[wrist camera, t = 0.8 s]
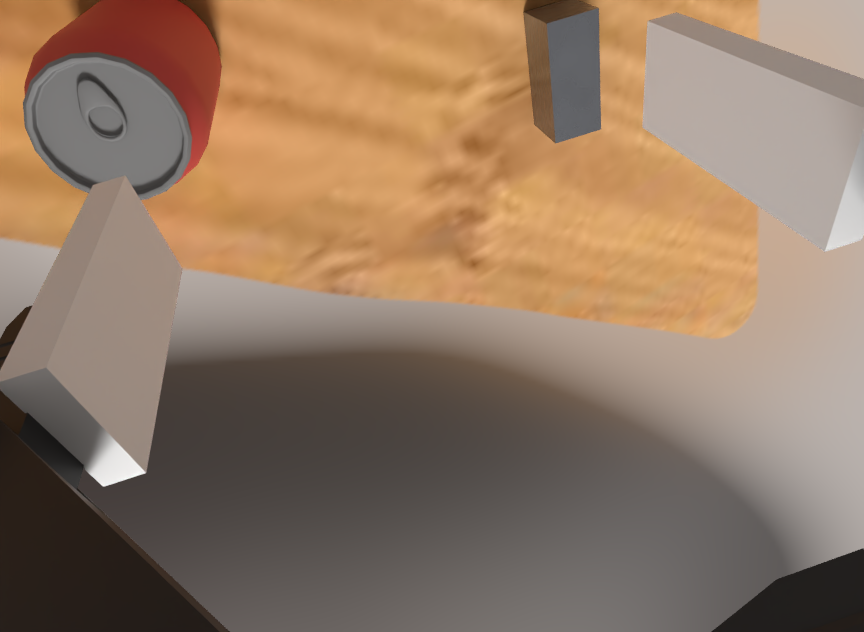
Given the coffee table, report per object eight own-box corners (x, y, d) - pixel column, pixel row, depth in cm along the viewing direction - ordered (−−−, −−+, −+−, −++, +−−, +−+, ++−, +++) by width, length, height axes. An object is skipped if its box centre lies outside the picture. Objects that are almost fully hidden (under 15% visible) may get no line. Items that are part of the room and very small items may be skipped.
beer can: (192, -27, 28) (159, 17, 19) (240, 103, 33) (231, 191, 23) (59, 1, 28) (-42, 61, 19) (125, 130, 32) (70, 231, 23)
